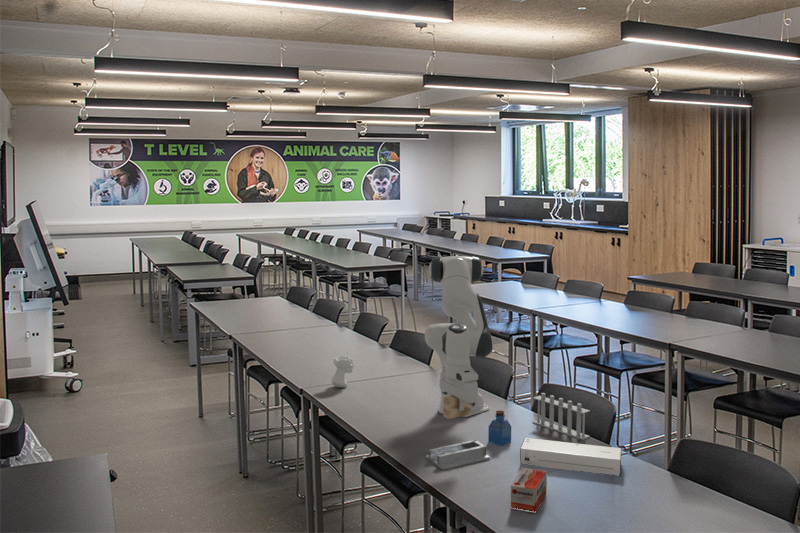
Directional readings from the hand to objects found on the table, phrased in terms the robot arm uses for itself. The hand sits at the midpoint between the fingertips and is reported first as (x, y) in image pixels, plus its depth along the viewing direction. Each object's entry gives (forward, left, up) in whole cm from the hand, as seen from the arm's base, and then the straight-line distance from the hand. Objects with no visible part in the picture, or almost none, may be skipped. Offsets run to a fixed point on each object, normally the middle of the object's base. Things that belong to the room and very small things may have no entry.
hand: (457, 408), depth 245 cm
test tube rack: (-52, -5, -19) cm, 56 cm away
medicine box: (-2, +39, -19) cm, 44 cm away
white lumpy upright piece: (+2, -101, -19) cm, 103 cm away
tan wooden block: (0, 0, -3) cm, 3 cm away
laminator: (-32, +24, -20) cm, 44 cm away
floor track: (0, 0, -19) cm, 19 cm away
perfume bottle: (-23, -6, -19) cm, 30 cm away
